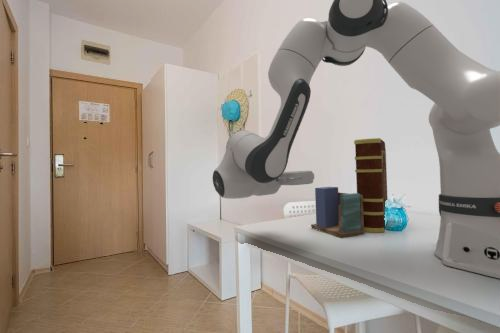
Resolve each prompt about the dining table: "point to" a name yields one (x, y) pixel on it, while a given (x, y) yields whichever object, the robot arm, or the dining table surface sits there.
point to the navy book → (327, 206)
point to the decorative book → (372, 181)
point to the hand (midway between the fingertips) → (301, 176)
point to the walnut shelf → (347, 217)
